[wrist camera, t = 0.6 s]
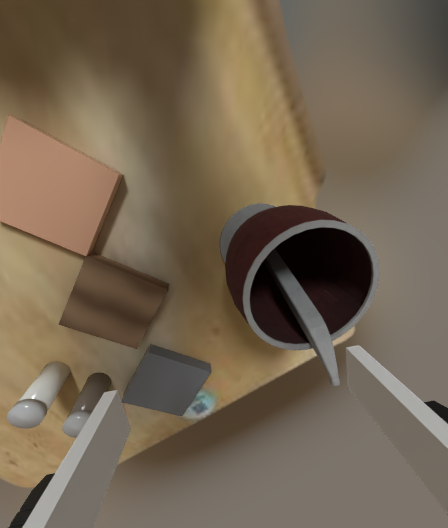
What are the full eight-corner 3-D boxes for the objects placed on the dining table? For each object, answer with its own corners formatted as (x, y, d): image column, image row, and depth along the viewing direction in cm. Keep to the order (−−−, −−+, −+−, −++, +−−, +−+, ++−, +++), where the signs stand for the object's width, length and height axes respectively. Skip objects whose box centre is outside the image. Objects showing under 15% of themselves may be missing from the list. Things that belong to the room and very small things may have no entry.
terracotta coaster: (21, 119, 26) (8, 114, 24) (123, 174, 29) (119, 174, 28) (-5, 211, 29) (-18, 213, 27) (91, 251, 32) (85, 256, 30)
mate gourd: (204, 211, 33) (225, 250, 14) (293, 187, 33) (424, 195, 15) (228, 299, 38) (265, 410, 20) (303, 277, 39) (407, 364, 21)
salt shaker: (47, 358, 37) (11, 403, 30) (74, 365, 38) (46, 410, 31) (40, 376, 38) (3, 424, 31) (66, 382, 39) (37, 430, 32)
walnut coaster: (91, 251, 32) (85, 256, 30) (168, 284, 36) (167, 289, 34) (65, 316, 35) (58, 324, 33) (139, 340, 39) (136, 348, 37)
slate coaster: (150, 344, 39) (148, 352, 37) (210, 363, 43) (211, 372, 41) (124, 392, 42) (121, 401, 40) (182, 406, 46) (182, 416, 44)
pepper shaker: (91, 369, 39) (67, 415, 32) (115, 376, 40) (98, 421, 33) (83, 386, 40) (58, 434, 33) (106, 392, 41) (88, 439, 34)
